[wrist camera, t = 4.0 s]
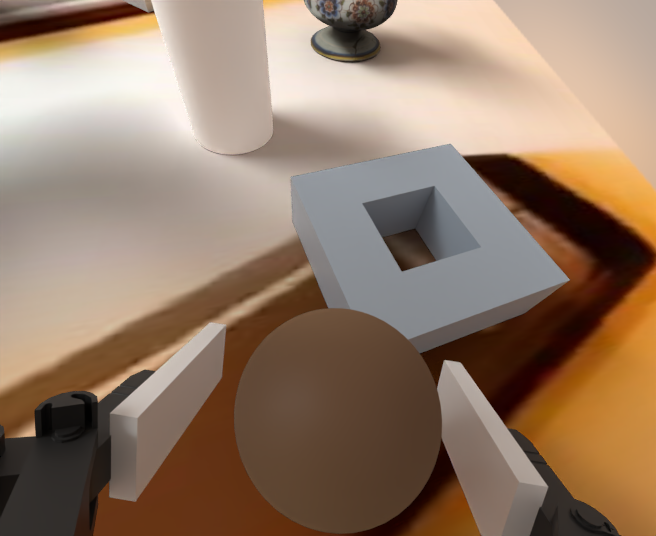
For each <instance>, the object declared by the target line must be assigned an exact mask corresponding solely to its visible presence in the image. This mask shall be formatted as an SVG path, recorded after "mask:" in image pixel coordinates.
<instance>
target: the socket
mask: <svg viewBox="0 0 656 536" xmlns="http://www.w3.org/2000/svg"><path fill="white" fill-rule="evenodd" d="M291 197H292V222H293V224H294V227H295V229H296V231H297V234H298V236H299V239H300V241H301V243H302V246H303V248H304V251H305V253H306V255H307V258H308V260H309V263H310V265H311V268H312V270H313V272H314V275H315V277H316V280H317V282H318V284H319V287H320V289H321V292H322V294H323V296H324V299H325V301H326V304H327V306H328V308H343V309H351V310H356V311H360V312H364V313H367V314H369V315H372V316H375V317H377V318H379V319H381V320H383V321H385V322H386V323H388V324H389V325H391V326H392V327H394V328H395V329H397V330H398V331H399V332H400V333H401V334H403V335H404V336H405V337H406V338H407V339H408V340H409V341H410V342H411V343H412V344H413V346H414V347H415V348H416V349H417V351H418V352H419V353H422V352H425V351H428V350H430V349H433V348H435V347H438V346H441V345H443V344H446V343H448V342H451V341H454V340H456V339H459V338H461V337H464V336H467V335H469V334H472V333H474V332H477V331H480V330H482V329H485V328H487V327H490V326H493V325H495V324H498V323H501V322H503V321H506V320H508V319H511V318H514V317H516V316H519V315H521V314H524V313H526V312H527V311H528V310H530V309H531V308H532V307H534V306H535V305H537V304H538V303H539V302H541V301H542V300H543V299H545V298H546V297H547V296H549V295H550V294H552V293H553V292H554V291H556V290H557V289H558V288H560V287H561V286H562V285H564V284H565V283H567V282H568V281H569V280H570V279H569V278H568V277H567V276H566V275H565V274H564V272H563V271H562V270H561V269H560V268H559V267H558V266H557V265H556V263H555V262H554V261H553V260H552V259H551V258H550V257H549V255H548V254H547V253H546V252H545V251H544V250H543V249H542V247H541V246H540V245H539V244H538V243H537V242H536V241H535V239H534V238H533V237H532V236H531V235H530V234H529V233H528V231H527V230H526V229H525V228H524V227H523V226H522V225H521V223H520V222H519V221H518V220H517V219H516V218H515V217H514V215H513V214H512V213H511V212H510V211H509V210H508V209H507V207H506V206H505V205H504V204H503V203H502V202H501V201H500V199H499V198H498V197H497V196H496V195H495V194H494V193H493V191H492V190H491V189H490V188H489V187H488V186H487V185H486V183H485V182H484V181H483V180H482V179H481V178H480V177H479V175H478V174H477V173H476V172H475V171H474V170H473V169H472V167H471V166H470V165H469V164H468V163H467V162H466V161H465V159H464V158H463V157H462V156H461V155H460V154H459V153H458V151H457V150H456V149H455V148H454V147H453V146H452V145H451V144H447V145H442V146H437V147H432V148H428V149H423V150H418V151H413V152H408V153H403V154H399V155H394V156H389V157H384V158H379V159H375V160H370V161H365V162H360V163H355V164H350V165H346V166H341V167H336V168H331V169H326V170H321V171H317V172H312V173H307V174H302V175H297V176H293V177H291ZM411 229H416V230H417V232H418V233H419V235H420V236H421V238H422V239H423V241H424V243H425V244H426V246H427V247H428V249H429V250H430V252H431V253H432V255H433V256H434V258H435V259H436V261H435V262H432V263H428V264H425V265H422V266H419V267H415V268H412V269H409V270H406V271H401V270H400V268H399V266H398V264H397V263H396V261H395V259H394V257H393V256H392V254H391V252H390V251H389V249H388V247H387V245H386V244H385V242H384V240H383V238H382V237H386V236H389V235H393V234H397V233H400V232H404V231H408V230H411Z"/></svg>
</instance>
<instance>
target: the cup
mask: <svg viewBox="0 0 656 536" xmlns="http://www.w3.org/2000/svg"><path fill="white" fill-rule="evenodd" d="M151 2H152V5H153V8H154V12H155V15H156V18H157V21H158V24H159V27H160V30H161V33H162V37H163V40H164V43H165V46H166V49H167V52H168V55H169V59H170V62H171V65H172V68H173V71H174V74H175V77H176V81H177V84H178V87H179V90H180V93H181V96H182V99H183V103H184V106H185V109H186V112H187V115H188V118H189V121H190V125H191V128H192V131H193V134H194V137H195V139H196V141H197V142H198V143H199V144H200V145H201V146H202V147H204V148H205V149H207V150H209V151H212V152H215V153H219V154H227V155H236V154H243V153H248V152H251V151H254V150H256V149H258V148H260V147H262V146H263V145H265V144H266V143H267V142H268V141H269V140H270V138H271V137H272V134H273V117H272V105H271V93H270V81H269V70H268V58H267V46H266V34H265V22H264V10H263V0H151Z"/></svg>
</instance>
